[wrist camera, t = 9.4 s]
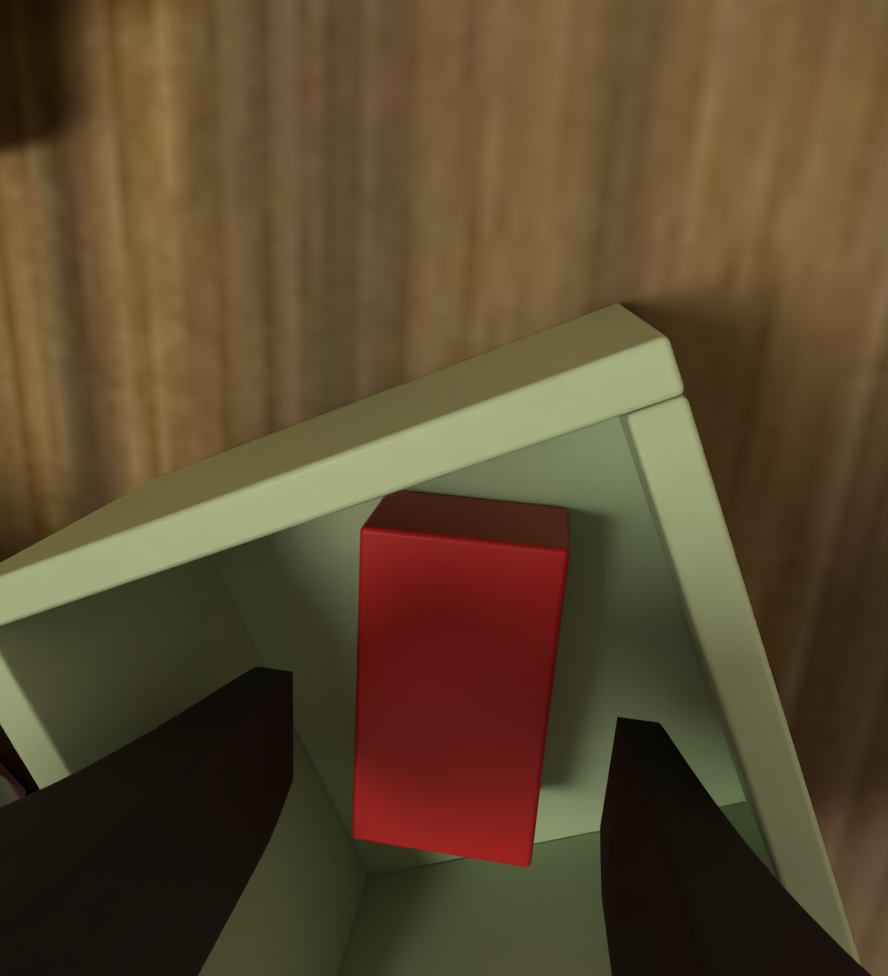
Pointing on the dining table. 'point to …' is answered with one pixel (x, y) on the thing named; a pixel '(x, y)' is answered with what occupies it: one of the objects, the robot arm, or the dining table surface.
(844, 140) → the dining table surface
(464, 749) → the red rectangular block
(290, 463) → the green open box
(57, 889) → the robot arm
